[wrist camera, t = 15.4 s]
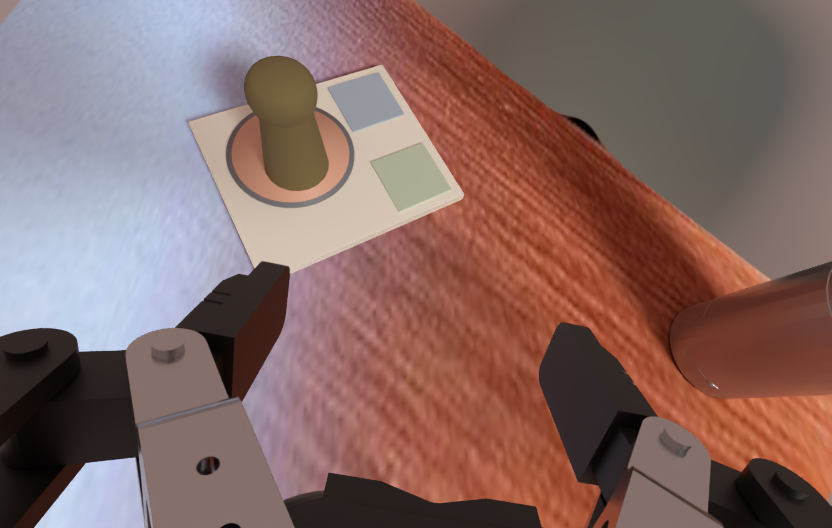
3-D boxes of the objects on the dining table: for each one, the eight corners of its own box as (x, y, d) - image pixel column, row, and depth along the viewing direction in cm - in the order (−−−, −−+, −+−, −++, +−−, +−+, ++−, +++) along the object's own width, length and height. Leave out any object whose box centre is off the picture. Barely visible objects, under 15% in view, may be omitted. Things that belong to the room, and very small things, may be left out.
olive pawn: (335, 145, 40) (330, 54, 30) (320, 197, 38) (309, 117, 28) (274, 131, 40) (248, 32, 29) (255, 183, 37) (219, 96, 27)
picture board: (381, 71, 46) (382, 63, 45) (461, 199, 42) (465, 193, 40) (191, 128, 40) (187, 120, 38) (263, 285, 35) (260, 281, 34)
